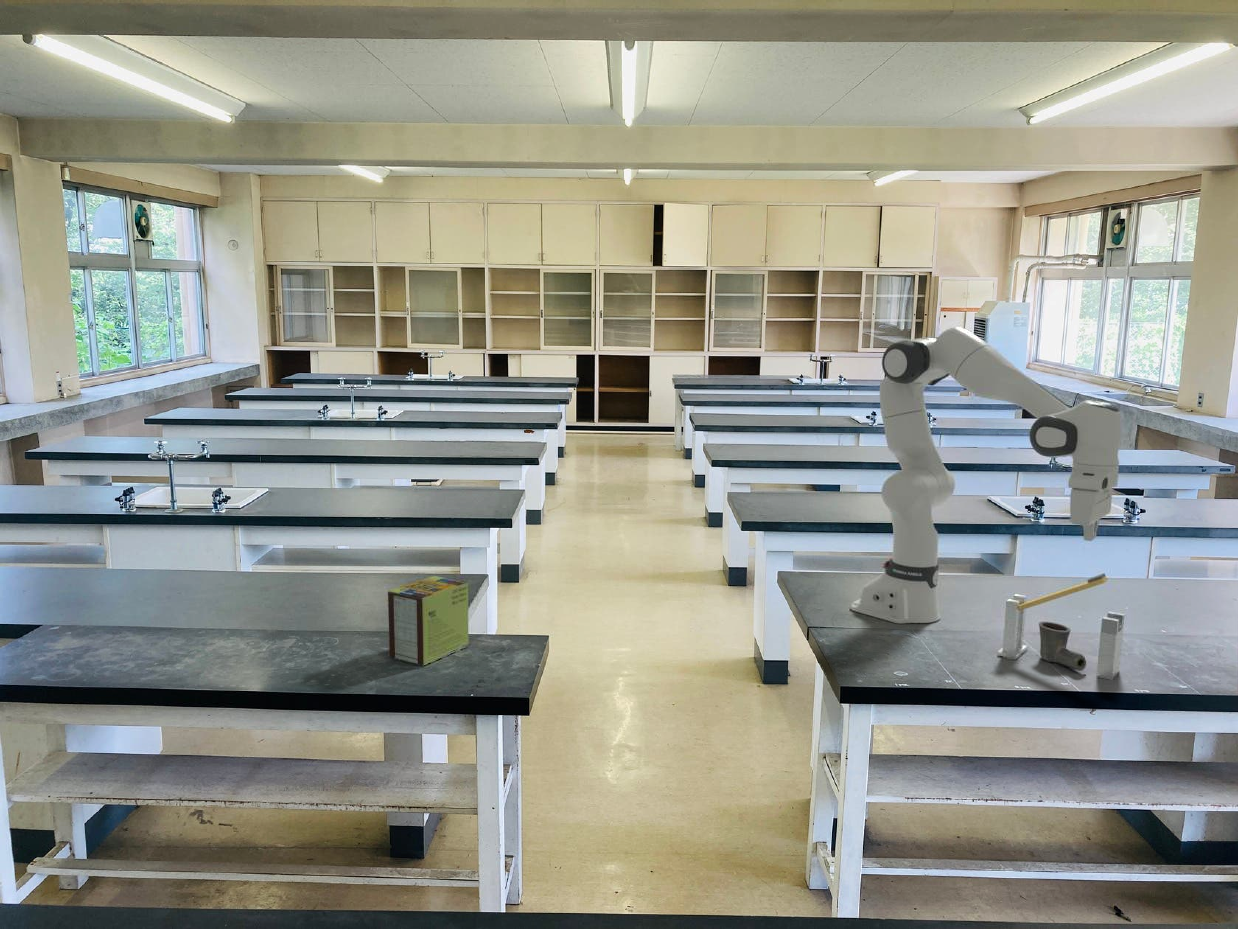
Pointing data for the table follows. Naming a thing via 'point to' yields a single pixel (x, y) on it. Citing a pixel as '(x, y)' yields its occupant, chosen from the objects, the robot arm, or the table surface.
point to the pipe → (1059, 646)
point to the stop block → (1110, 645)
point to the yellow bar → (1065, 592)
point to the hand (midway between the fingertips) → (1089, 539)
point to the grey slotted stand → (1014, 629)
